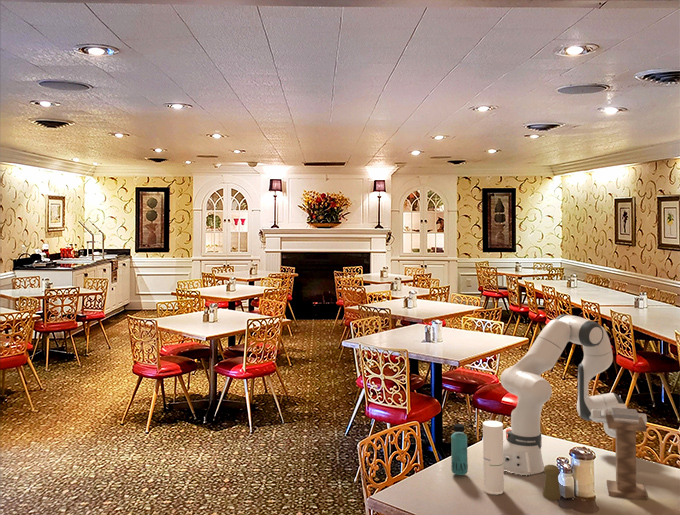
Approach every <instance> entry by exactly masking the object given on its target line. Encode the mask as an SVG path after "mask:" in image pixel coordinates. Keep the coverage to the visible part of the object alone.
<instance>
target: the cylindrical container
mask: <svg viewBox="0 0 680 515" xmlns="http://www.w3.org/2000/svg"><path fill="white" fill-rule="evenodd" d="M503 441H504V424H503V422H500V421H497V420H485V421H483V422H482V447H483V448H482V449H483V451H482V453H483V454H482V459H483V460H482V462H483V464H482V466H483V489H484V488H485V489H486V490H488V491H492V492H501V491H503V490H504V491H505V477H504V474H505V472H504V463H503Z"/></svg>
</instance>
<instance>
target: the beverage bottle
mask: <svg viewBox="0 0 680 515" xmlns="http://www.w3.org/2000/svg"><path fill="white" fill-rule="evenodd" d="M453 431H454V432H453V433H452V434H451V436H450V439H451V440H450V441H451V443H450V444H451V456H450V457H451V460H450V462H451V472H452V474H454V475H457V476H458V475H459V476H463V475H467V473H468V472H469V470H468V469H469V468H468V467H469V464H468V459H469V458H468V445H469V444H468V436H467V434H465V433H464V432H465V424H462V423H455V424H454V425H453Z"/></svg>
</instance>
